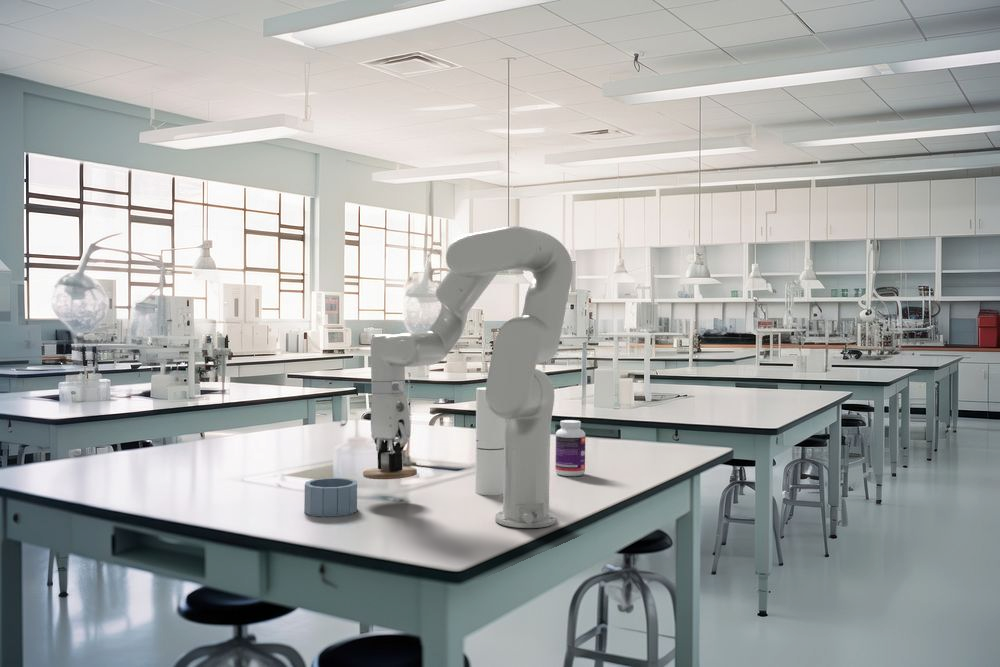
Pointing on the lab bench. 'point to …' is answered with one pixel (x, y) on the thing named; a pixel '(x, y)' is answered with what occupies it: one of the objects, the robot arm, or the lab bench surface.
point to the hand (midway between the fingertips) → (390, 468)
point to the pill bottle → (570, 449)
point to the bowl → (330, 497)
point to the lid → (385, 472)
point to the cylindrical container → (488, 448)
